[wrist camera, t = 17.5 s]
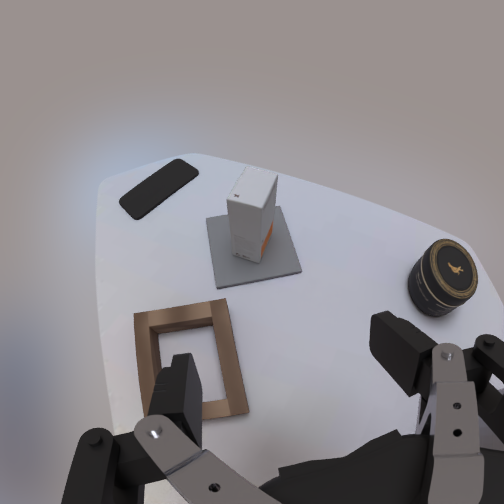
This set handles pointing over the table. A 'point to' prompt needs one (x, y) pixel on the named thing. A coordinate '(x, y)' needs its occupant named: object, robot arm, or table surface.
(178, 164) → the phone
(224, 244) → the rubber mat
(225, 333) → the brown wooden rectangular frame
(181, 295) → the table surface
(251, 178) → the skincare box
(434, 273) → the jar
